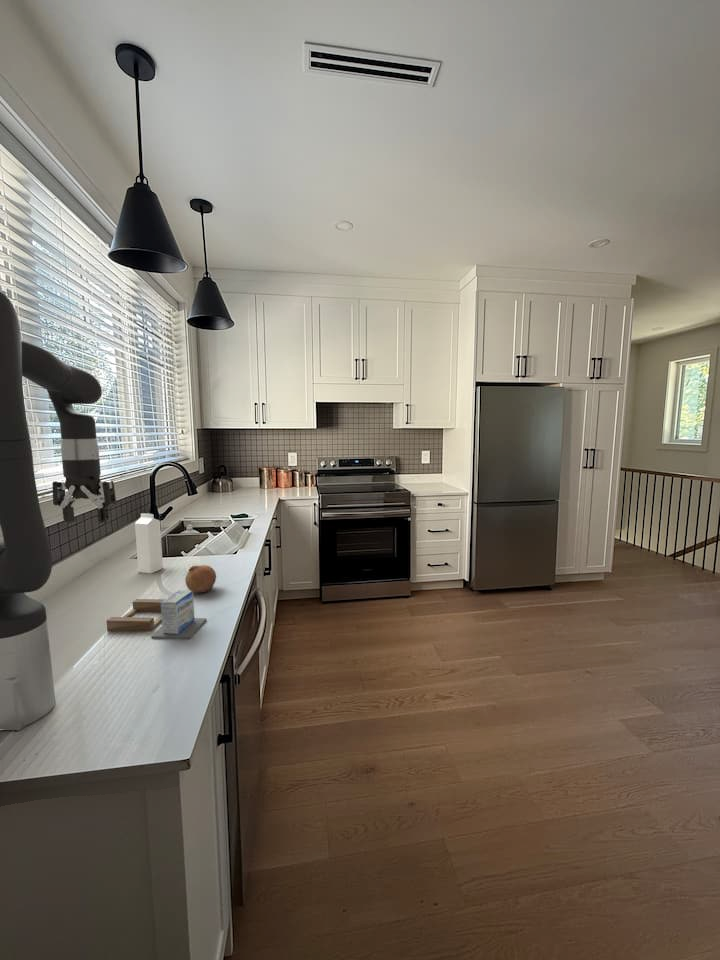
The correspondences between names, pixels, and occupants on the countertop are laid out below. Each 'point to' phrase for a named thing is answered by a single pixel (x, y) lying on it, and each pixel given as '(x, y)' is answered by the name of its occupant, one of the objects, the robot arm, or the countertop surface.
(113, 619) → the frame
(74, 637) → the countertop surface
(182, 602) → the medicine box
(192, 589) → the onion
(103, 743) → the countertop surface
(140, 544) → the milk
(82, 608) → the countertop surface
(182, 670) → the countertop surface
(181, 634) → the mat
